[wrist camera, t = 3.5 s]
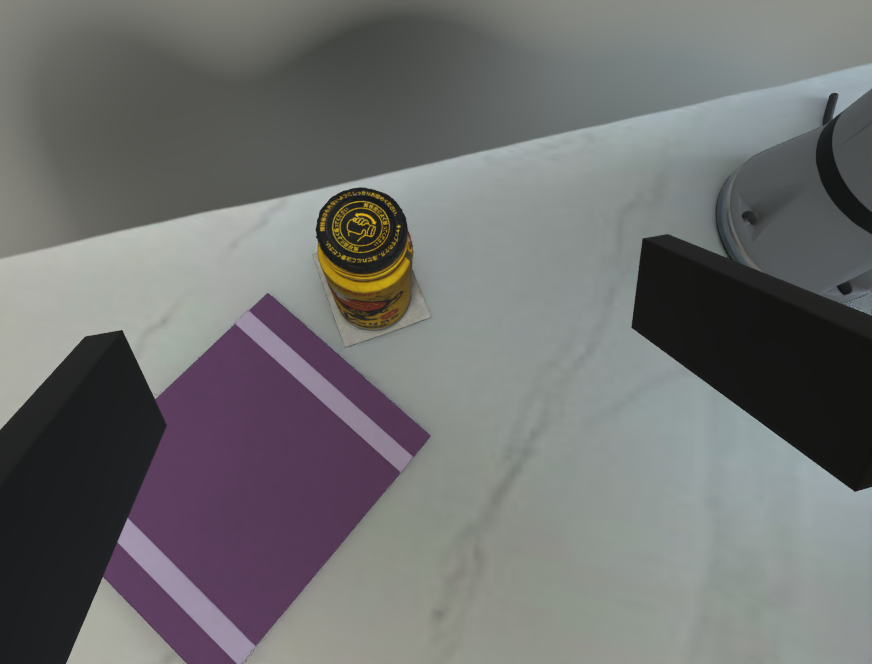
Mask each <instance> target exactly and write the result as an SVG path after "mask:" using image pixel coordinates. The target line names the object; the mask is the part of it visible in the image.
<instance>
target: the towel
mask: <svg viewBox="0 0 872 664" xmlns="http://www.w3.org/2000/svg"><path fill="white" fill-rule="evenodd" d="M155 401H156V403H157V405H158V407H159V409H160V411H161V414H162V416H163V418H164V420H165V422H166V424H167V426H166V429H165V431H164V434H163V436H162V438H161V441H160V443H159V445H158V448H157V450H156V452H155V455H154V457H153V459H152V462H151V464H150V467H149V469H148V471H147V474H146V476H145V478H144V481H143V483H142V485H141V488H140V490H139V493H138V495H137V497H136V500H135V502H134V504H133V507H132V509H131V511H130V514H129V516H128V518H127V521H126V523H125V526H124V528H123V530H122V533H121V535H120V537H119V540H118V542H117V544H116V547H115V549H114V551H113V554H112V556H111V559H110V561H109V563H108V566H107V568H106V570H105V573H104V575H103V577H104V578H105V579H106V580H107V581H108V582H109V583H110V584H111V585H112V586H113V587H114V588H115V590H116V591H117V592H118V593H119V594H120V595H121V596H122V597H123V598H124V599H125V600H126V601H127V602H128V603H129V604H130V605H131V606H132V607H133V608H134V609H135V610H136V611H137V612H138V613H139V614H140V615H141V616H142V617H143V619H144V620H145V621H146V622H147V623H148V624H149V625H150V626H151V627H152V628H153V629H154V630H155V631H156V632H157V633H158V634H159V635H160V636H161V637H162V638H163V639H164V640H165V641H166V642H167V643H168V644H169V645H170V646H171V648H172V649H173V650H174V651H175V652H176V653H177V654H178V655H179V656H180V657H181V658H182V659H183V660H184V661H185V662H186V663H187V664H241V663H242V662H243V661H244V659H245V658H246V657H247V656H248V655H249V653H250V652H251V651H252V650H253V649H254V647H255V646H256V645H257V644H258V643H259V641H260V640H261V639H262V638H263V637H264V635H265V634H266V633H267V632H268V631H269V629H270V628H271V627H272V626H273V625H274V623H275V622H276V621H277V620H278V619H279V617H280V616H281V615H282V614H283V613H284V611H285V610H286V609H287V608H288V607H289V605H290V604H291V603H292V602H293V601H294V599H295V598H296V597H297V596H298V595H299V593H300V592H301V591H302V590H303V589H304V587H305V586H306V585H307V584H308V583H309V582H310V580H311V579H312V578H313V577H314V576H315V574H316V573H317V572H318V571H319V570H320V568H321V567H322V566H323V565H324V564H325V562H326V561H327V560H328V559H329V558H330V556H331V555H332V554H333V553H334V552H335V550H336V549H337V548H338V547H339V546H340V544H341V543H342V542H343V541H344V540H345V538H346V537H347V536H348V535H349V534H350V532H351V531H352V530H353V529H354V528H355V526H356V525H357V524H358V523H359V522H360V520H361V519H362V518H363V517H364V516H365V514H366V513H367V512H368V511H369V510H370V508H371V507H372V506H373V505H374V504H375V502H376V501H377V500H378V499H379V498H380V496H381V495H382V494H383V493H384V492H385V490H386V489H387V488H388V487H389V486H390V484H391V483H392V482H393V481H394V480H395V478H396V477H397V476H398V475H399V474H400V472H401V471H402V470H403V469H404V468H405V466H406V465H407V464H408V463H409V462H410V460H411V459H412V458H413V457H414V456H415V454H416V453H417V452H418V451H419V450H420V448H421V447H422V446H423V445H424V444H425V442H426V441H427V440H428V439H429V438H430V435H429V434H428V433H427V432H426V431H424V430H423V429H422V428H421V427H420V426H419V425H418V424H416V423H415V422H414V421H413V420H412V419H411V418H410V417H409V416H407V415H406V414H405V413H404V412H403V411H402V410H401V409H399V408H398V407H397V406H396V405H395V404H394V403H393V402H391V401H390V400H389V399H388V398H387V397H386V396H385V395H383V394H382V393H381V392H380V391H379V390H378V389H377V388H375V387H374V386H373V385H372V384H371V383H370V382H369V381H367V380H366V379H365V378H364V377H363V376H362V375H361V374H360V373H358V372H357V371H356V370H355V369H354V368H353V367H352V366H350V365H349V364H348V363H347V362H346V361H345V360H344V359H342V358H341V357H340V356H339V355H338V354H337V353H336V352H334V351H333V350H332V349H331V348H330V347H329V346H328V345H326V344H325V343H324V342H323V341H322V340H321V339H320V338H319V337H317V336H316V335H315V334H314V333H313V332H312V331H311V330H309V329H308V328H307V327H306V326H305V325H304V324H303V323H301V322H300V321H299V320H298V319H297V318H296V317H295V316H293V315H292V314H291V313H290V312H289V311H288V310H287V309H285V308H284V307H283V306H282V305H281V304H280V303H279V302H277V301H276V300H275V299H274V298H273V297H272V296H271V295H270V294H268V293H267V294H266V295H265V296H264V297H263V298H262V299H261V300H260V301H259V302H258V303H257V304H256V305H255V306H253V307H252V308H251V309H250V310H249V311H247V312H246V313H245V314H244V315H243V316H242V317H241V318H240V319H239V320H238V321H236V322H235V324H234V325H233V326H232V327H231V328H230V329H229V330H228V331H227V332H226V333H225V334H224V335H223V336H222V337H221V338H220V339H219V340H218V341H217V342H215V343H214V344H213V345H212V346H211V347H210V348H209V349H208V350H207V351H206V352H205V353H204V354H203V355H202V356H201V357H200V358H199V359H198V360H197V361H195V362H194V363H193V364H192V365H191V366H190V367H189V368H188V369H187V370H186V371H185V372H184V373H183V374H182V375H181V376H180V377H179V378H178V379H176V380H175V381H174V382H173V383H172V384H171V385H170V386H169V387H168V388H167V389H166V390H165V391H164V392H163V393H162V394H161V395H160V396H159V397H157V398H156V399H155Z"/></svg>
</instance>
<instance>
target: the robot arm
mask: <svg viewBox="0 0 872 664" xmlns="http://www.w3.org/2000/svg"><path fill="white" fill-rule="evenodd" d="M837 99H838V94H837V93H832V94H831V95H830V96H829V99H828V103H827V106H826V110H825V114H824V118H823V126H821V127H819V128H817V129H814V130H812V131H809V132H807V133H805V134H802V135H800V136H797V137H795V138H793V139H790V140H788V141H786V142H783V143H781V144H778V145H776V146H774V147H771V148H769V149H766V150H764V151H762V152H760V153H758V154H756V155H754V156H753V157H752V158H750V159H749V160H748V161H747V162H745V163H744V164H743V165H742V166H741V167H740V168H738V169H737V170H736V171H735V172H734V173H733V174H732V175H731V176H730V177H729V178H728V179H727V181H726V182H725V184H724V186H723V188H722V190H721V193H720V195H719V199H718V204H717V222H718V228H719V232H720V236H721V239H722V241H723V244H724V246H725V248H726V250H727V252H728V254H729V256H730V257H731V259H732V260H731V259H728V258H726V257H723V256H721V255H718V254H716V253H713V252H711V251H708V250H706V249H703V248H701V247H698V246H696V245H693V244H691V243H688V242H686V241H683V240H681V239H678V238H676V237H673V236H671V235H668V234H666V235H660V236H655V237H649V238H643V240H642V248H641V256H640V264H639V272H638V280H637V288H636V296H635V304H634V312H633V320H632V328H633V329H634V330H635V331H637V332H638V333H640V334H641V335H642V336H644V337H645V338H646V339H648V340H649V341H650V342H652V343H653V344H655V345H656V346H657V347H659V348H660V349H661V350H663V351H664V352H665V353H667V354H668V355H669V356H671V357H672V358H674V359H675V360H676V361H678V362H679V363H680V364H682V365H683V366H684V367H686V368H687V369H689V370H690V371H691V372H693V373H694V374H695V375H697V376H698V377H699V378H701V379H702V380H704V381H705V382H706V383H708V384H709V385H710V386H712V387H713V388H714V389H716V390H717V391H719V392H720V393H721V394H723V395H724V396H725V397H727V398H728V399H729V400H731V401H732V402H733V403H735V404H736V405H738V406H739V407H740V408H742V409H743V410H744V411H746V412H747V413H748V414H750V415H751V416H753V417H754V418H755V419H757V420H758V421H759V422H761V423H762V424H763V425H765V426H766V427H768V428H769V429H770V430H772V431H773V432H774V433H776V434H777V435H778V436H780V437H781V438H783V439H784V440H785V441H787V442H788V443H789V444H791V445H792V446H793V447H795V448H796V449H798V450H799V451H800V452H802V453H803V454H804V455H806V456H807V457H808V458H810V459H811V460H812V461H814V462H815V463H817V464H818V465H819V466H821V467H822V468H823V469H825V470H826V471H827V472H829V473H830V474H832V475H833V476H834V477H836V478H837V479H838V480H840V481H841V482H842V483H844V484H845V485H847V486H848V487H849V488H851V489H852V490H853V491H855V492H856V491H859V490H863V489H866V488H869V487H872V316H871V315H868V314H866V313H863V312H861V311H858V310H856V309H853V308H851V307H848V306H846V305H843V304H842V303H845V302H848V301H851V300H854V299H856V298H859V297H862V296H864V295H866V294H868V293H869V292H871V291H872V89H871V90H869V91H868V92H867V93H866V94H864V95H863V96H862V97H860V98H859V99H858V100H857V101H855V102H854V103H853V104H851V105H850V106H849V107H848V108H847V109H845V110H844V111H843V112H841V113H840V114H839V115H838V116H836V117H835V118H834V119H833V120H832V118H833V113H834V109H835V106H836V102H837ZM166 426H167V424H166V422H165V420H164V418H163V416H162V414H161V411H160V409H159V407H158V405H157V403H156V401H155V399H154V397H153V394H152V392H151V390H150V388H149V386H148V384H147V382H146V380H145V377H144V375H143V373H142V371H141V369H140V367H139V365H138V363H137V360H136V358H135V356H134V354H133V352H132V350H131V348H130V346H129V343H128V341H127V339H126V337H125V335H124V333H123V331H122V330H120V331H115V332H109V333H103V334H98V335H92V336H86V337H84V339H83V340H82V341H81V342H80V343H79V344H78V345H77V346H76V347H75V348H74V350H73V351H72V352H71V353H70V354H69V355H68V356H67V357H66V358H65V359H64V361H63V362H62V363H61V364H60V365H59V366H58V367H57V368H56V369H55V370H54V372H53V373H52V374H51V375H50V376H49V377H48V378H47V379H46V380H45V381H44V383H43V384H42V385H41V386H40V387H39V388H38V389H37V390H36V391H35V392H34V394H33V395H32V396H31V397H30V398H29V399H28V400H27V401H26V402H25V403H24V405H23V406H22V407H21V408H20V409H19V410H18V411H17V412H16V413H15V414H14V415H13V417H12V418H11V419H10V420H9V421H8V422H7V423H6V424H5V425H4V426H3V428H2V429H1V430H0V664H66V662H67V660H68V658H69V655H70V653H71V650H72V648H73V646H74V643H75V641H76V639H77V636H78V634H79V632H80V629H81V627H82V625H83V622H84V620H85V617H86V615H87V613H88V610H89V608H90V606H91V603H92V601H93V599H94V596H95V594H96V592H97V589H98V587H99V584H100V582H101V580H102V577H103V575H104V573H105V570H106V568H107V566H108V563H109V561H110V559H111V556H112V554H113V551H114V549H115V547H116V544H117V542H118V540H119V537H120V535H121V533H122V530H123V528H124V526H125V523H126V521H127V518H128V516H129V514H130V511H131V509H132V507H133V504H134V502H135V500H136V497H137V495H138V493H139V490H140V488H141V485H142V483H143V481H144V478H145V476H146V474H147V471H148V469H149V467H150V464H151V462H152V459H153V457H154V455H155V452H156V450H157V448H158V445H159V443H160V441H161V438H162V436H163V434H164V431H165V429H166Z"/></svg>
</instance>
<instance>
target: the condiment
mask: <svg viewBox="0 0 872 664" xmlns="http://www.w3.org/2000/svg"><path fill="white" fill-rule="evenodd" d="M316 232H317V236H316V238H317V239H318V252H317V253H314V254H312V255H313V258H314V260H315V263H316V266H317V269H318V272H319V275H320V278H321V280H322V283H323V286H324V289H325V292H326V295H327V298H328V300H329V303H330V306H331V309H332V312H333V315H334V318H335V321H336V323H337V326H338V329H339V332H340V335H341V338H342V341H343V344H344V346H345V347H348V346H351V345H354V344H357V343H360V342H363V341H365V340H369V339H372V338H375V337H377V336H380V335H383V334H386V333H389V332H392V331H394V330H397V329H400V328H403V327H406V326H408V325H411V324H413V323H416V322H419V321H422V320H425V319H428V318H431V315H430V312H429V310H428V307H427V305H426V303H425V300H424V298H423V295H422V292H421V290H420V288H419V285H418V283H417V280H416V278H415V275H414V272H413V270H412V258H413V245H412V241H411V237H410V234H409V232H408V229H407V222H406V217H405V215H404V214H403V212H402V209H401V208H400V207H399V205H398V204H397V202H396V201H395V200H394V199H393V198H391V197H390V196H389V195H387V194H385V193H382V192H379V191H376V190H372V189H367V188H354V189H350V190H346V191H342V192H340V193H338V194H337V195H335V196H333V197H332V198H330V199H329V201H328V202H327V203H326V204H325V205H324V207H323V208H322V209H321V210H320V213H319V218H318V220H317V227H316Z"/></svg>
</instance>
